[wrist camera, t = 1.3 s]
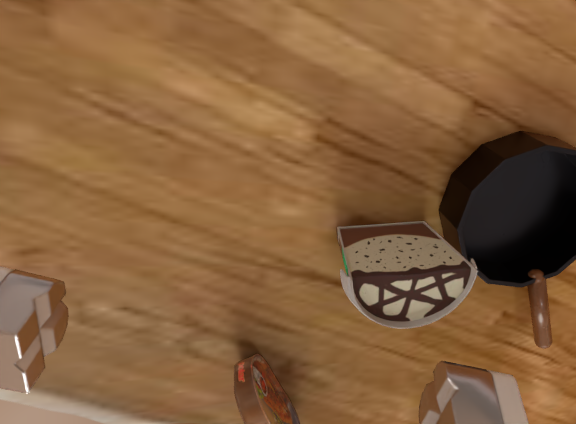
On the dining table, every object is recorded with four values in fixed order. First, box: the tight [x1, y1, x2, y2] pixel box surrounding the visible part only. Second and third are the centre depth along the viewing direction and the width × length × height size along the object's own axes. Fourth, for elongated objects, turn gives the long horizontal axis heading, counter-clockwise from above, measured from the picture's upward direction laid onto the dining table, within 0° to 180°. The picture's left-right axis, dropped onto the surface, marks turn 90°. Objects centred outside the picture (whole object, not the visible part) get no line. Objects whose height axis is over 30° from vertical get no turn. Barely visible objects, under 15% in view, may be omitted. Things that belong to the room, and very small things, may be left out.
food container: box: [337, 221, 478, 329], centre depth 50 cm, size 12×6×10 cm, turn 90°
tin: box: [234, 354, 300, 424], centre depth 57 cm, size 15×3×8 cm, turn 23°
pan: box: [439, 131, 576, 349], centre depth 54 cm, size 25×15×5 cm, turn 18°
